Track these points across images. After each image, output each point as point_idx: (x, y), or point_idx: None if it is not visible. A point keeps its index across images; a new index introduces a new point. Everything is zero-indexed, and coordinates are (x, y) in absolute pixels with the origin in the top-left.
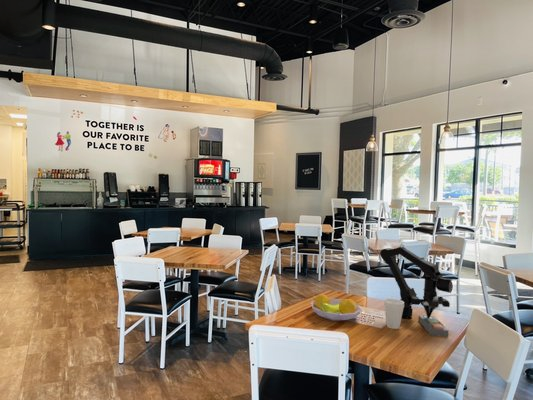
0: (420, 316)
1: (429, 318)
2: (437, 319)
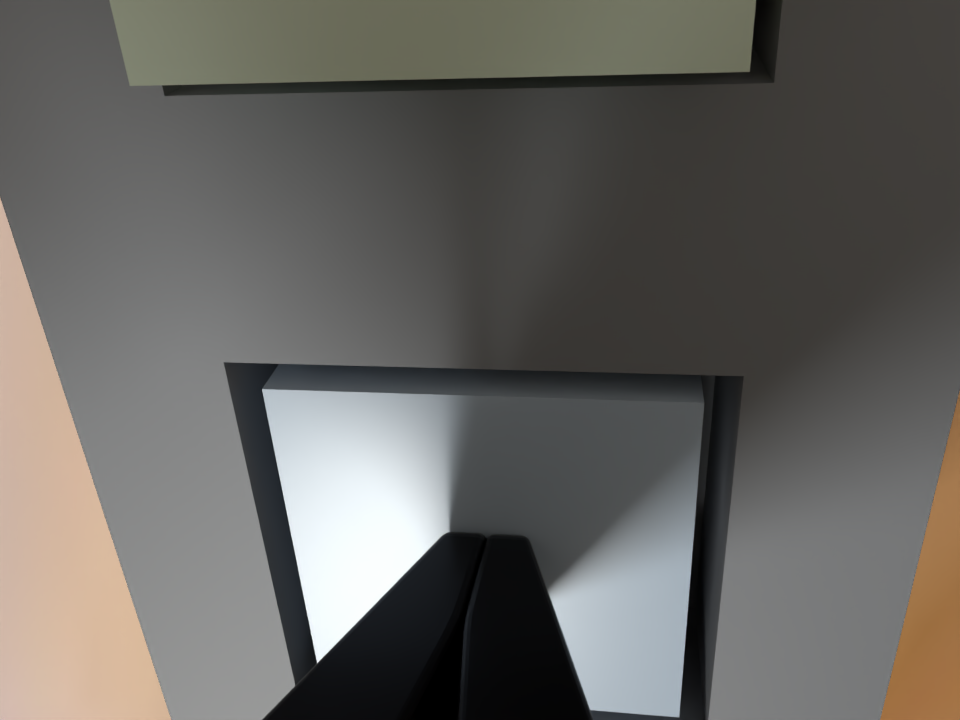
0: (874, 651)
1: (461, 462)
2: (68, 385)
